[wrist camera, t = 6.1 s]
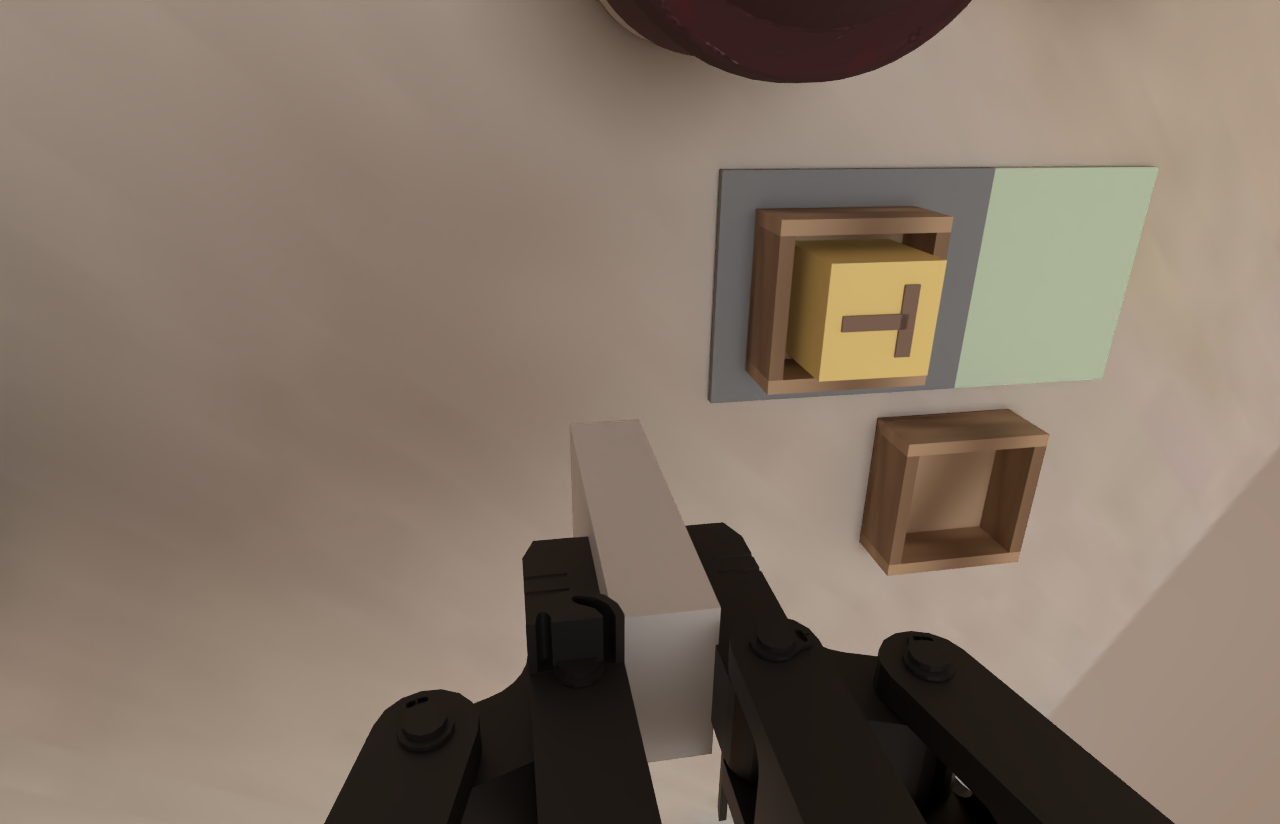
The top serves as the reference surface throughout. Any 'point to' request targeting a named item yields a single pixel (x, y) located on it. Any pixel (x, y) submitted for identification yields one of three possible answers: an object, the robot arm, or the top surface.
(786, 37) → the coffee cup
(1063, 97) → the top surface
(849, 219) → the box
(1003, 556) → the box
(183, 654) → the top surface
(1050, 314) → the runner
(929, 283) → the letter cube
